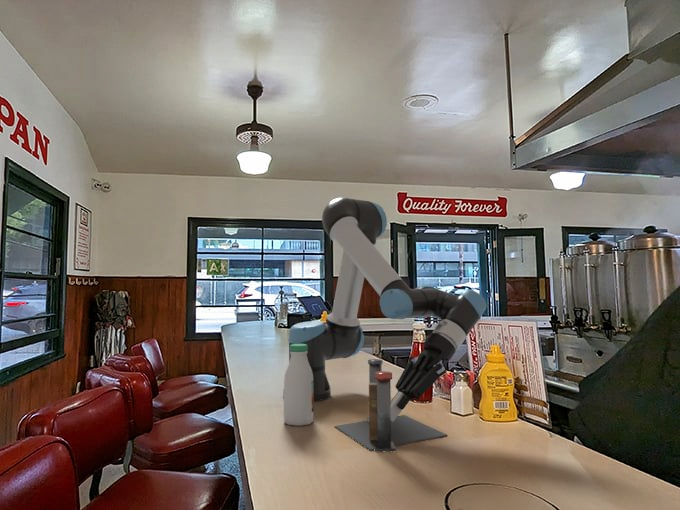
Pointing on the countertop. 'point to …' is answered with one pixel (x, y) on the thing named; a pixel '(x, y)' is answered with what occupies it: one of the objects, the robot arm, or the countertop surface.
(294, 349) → the milk bottle
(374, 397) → the gate
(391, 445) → the post
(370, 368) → the hinge post
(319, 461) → the countertop surface
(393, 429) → the bar mat
